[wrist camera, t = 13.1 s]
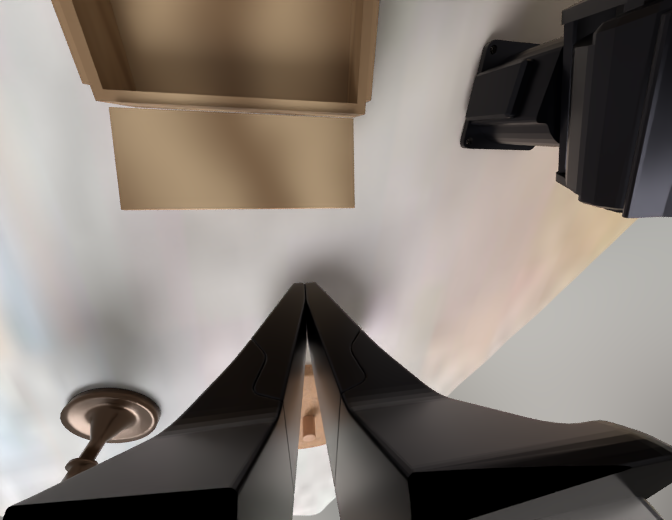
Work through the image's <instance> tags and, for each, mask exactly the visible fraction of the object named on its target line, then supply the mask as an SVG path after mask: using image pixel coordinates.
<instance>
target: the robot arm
mask: <svg viewBox="0 0 672 520" xmlns="http://www.w3.org/2000/svg"><path fill="white" fill-rule="evenodd" d="M563 24H564V36H563V37H560V38H558V39H555V40H552V41H549V42H547V43H544V44H541V45H540V44H531V43H521V42H512V41H503V40H493V41H491V42H489V43H487V44H486V46H485V47H484V49H483V52H482V56H481V60H480V64H479V68H478V72H477V76H476V77H475V80H474V85H473V89H472V93H471V97H470V101H469V105H468V109H467V113H466V121H465V125H464V129H463V133H462V137H461V141H460V145H461V147H462V148H470V149H503V150H531V149H533V148H534V147H535V146H550V147H559V167H558V172H556V181H557V182H558V183H560V184H562V185H563V186H565V187H567V188H569V189H570V190H571V191H573V192H574V193H576V194H578V195H579V198H578V200H579V201H581V202H583V203H585V204H588V205H592V206H596V207H600V208H604V209H607V210H611V211H614V212H619V213H622V216H623V217H625V218H642V217H672V0H582V1H580V2H578V3H576V4H574V5H572V6H571V7H569V8H567V9H565V10H563V11H562V25H563ZM491 47H492V48H493V52H492V54H491V53H490V49H491ZM468 138H469V143H468V144H467V143H466V141H467V139H468ZM307 340H308V347H309V353H310V358H311V363H312V369H313V374H314V379H315V385H316V390H317V396H318V401H319V406H320V412H321V417H322V423H323V428H324V433H325V439H326V444H327V450H328V455H329V460H330V466H331V471H332V476H333V482H334V486H335V493H336V498H337V503H338V509H339V514H340V520H665V519H664V518H663V517H662V516H661V515H660V514H659V513H658V512H657V511H656V510H655V509H654V507H653V506H652V505H651V504H650V503H649V502H648V501H647V500H646V499H647V498H649V497H650V496H652V495H654V494H655V493H657V492H658V491H660V490H661V489H663V488H664V487H666V486H667V485H669V484H671V483H672V446H671V445H669V444H667V443H665V442H663V441H661V440H659V439H657V438H655V437H653V436H650V435H648V434H646V433H643V432H641V431H637V430H635V429H631V428H628V427H625V426H622V425H619V424H615V423H611V422H608V421H602V420H598V421H589V422H583V423H573V424H566V423H553V422H547V421H540V420H536V419H532V418H527V417H523V416H519V415H515V414H511V413H507V412H503V411H499V410H495V409H491V408H487V407H483V406H479V405H475V404H471V403H467V402H463V401H459V400H455V399H451V398H448V397H446V396H443V395H441V394H439V393H437V392H436V391H434V390H432V389H431V388H429V387H428V386H427V385H425V384H424V383H423V382H422V381H420V380H419V379H418V378H417V377H415V376H414V375H413V374H412V373H410V372H409V371H408V370H407V369H406V368H404V367H403V366H402V365H401V364H399V363H398V362H397V361H396V360H394V359H393V358H392V357H391V356H390V355H388V354H387V353H386V352H385V351H384V350H383V349H381V348H380V347H379V346H378V345H377V344H376V343H375V342H374V341H373V340H372V339H371V338H370V337H369V336H368V335H367V334H366V333H365V332H364V331H363V330H361V328H360V327H359V326H358V325H357V324H356V323H355V322H354V321H353V320H352V319H351V318H350V317H349V316H348V315H347V314H346V313H345V312H344V311H343V310H342V309H341V308H340V307H339V306H338V305H337V304H336V303H335V302H334V301H333V299H332V298H331V297H330V296H329V295H328V294H327V293H326V292H325V291H324V290H323V289H322V288H321V287H320V286H319V285H318V284H317V283H316V282H309V283H305V284H304V283H294V284H293V285H292V286H291V287H290V289H289V290H288V291H287V293H286V294H285V295H284V297H283V298H282V299H281V300H280V302H279V303H278V304H277V306H276V307H275V308H274V310H273V311H272V312H271V313H270V315H269V316H268V317H267V319H266V320H265V321H264V323H263V324H262V325H261V326H260V328H259V329H258V330H257V332H256V333H255V334H254V336H253V337H252V338H251V340H250V341H249V342H248V343H247V344H246V346H245V347H244V348H243V350H242V351H241V352H240V353H239V354H238V356H237V357H236V358H235V359H234V360H233V362H232V363H231V364H230V365H229V366H228V367H227V368H226V369H225V370H224V371H223V372H222V374H221V375H220V376H219V377H218V378H217V379H216V380H215V381H214V382H213V383H212V384H211V385H210V386H209V387H208V388H207V389H206V390H205V391H204V392H203V393H202V394H201V395H200V396H199V397H198V399H197V400H196V401H195V402H194V403H193V404H192V405H191V406H190V407H189V408H188V409H187V410H186V411H185V412H184V413H183V414H182V415H181V416H180V417H179V418H178V419H177V420H176V421H175V422H173V423H172V424H171V425H170V426H169V427H168V428H166V429H165V430H163V431H162V432H161V433H159V434H158V435H156V436H155V437H153V438H151V439H149V440H147V441H145V442H143V443H141V444H139V445H137V446H135V447H133V448H131V449H129V450H127V451H125V452H123V453H121V454H119V455H116V456H114V457H112V458H110V459H108V460H106V461H104V462H102V463H100V464H98V465H96V466H94V467H92V468H90V469H88V470H86V471H84V472H81V473H79V474H77V475H75V476H73V477H71V478H69V479H67V480H65V481H63V482H61V483H59V484H57V485H55V486H53V487H51V488H48V489H46V490H44V491H42V492H40V493H38V494H36V495H34V496H32V497H30V498H28V499H25V500H23V501H21V502H19V503H17V504H14V505H12V506H10V507H8V508H7V510H6V512H5V515H4V517H3V520H292V515H293V503H294V491H295V479H296V468H297V456H298V444H299V432H300V420H301V408H302V397H303V385H304V373H305V361H306V349H307Z"/></svg>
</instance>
